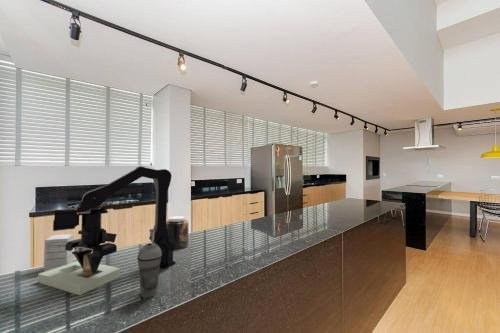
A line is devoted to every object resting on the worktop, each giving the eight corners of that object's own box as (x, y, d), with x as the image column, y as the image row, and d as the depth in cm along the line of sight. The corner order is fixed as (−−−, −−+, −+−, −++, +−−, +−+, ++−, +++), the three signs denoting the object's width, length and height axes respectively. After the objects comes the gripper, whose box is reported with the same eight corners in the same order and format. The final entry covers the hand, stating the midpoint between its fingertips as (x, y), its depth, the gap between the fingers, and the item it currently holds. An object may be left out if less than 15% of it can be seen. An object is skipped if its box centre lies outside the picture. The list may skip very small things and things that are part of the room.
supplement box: (51, 266, 93) (52, 235, 93) (73, 263, 96) (74, 233, 96) (42, 273, 86) (44, 239, 86) (66, 270, 89) (67, 237, 89)
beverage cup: (141, 288, 75) (142, 227, 76) (164, 287, 76) (165, 227, 77) (132, 300, 68) (133, 232, 69) (157, 299, 69) (158, 232, 70)
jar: (165, 251, 112) (165, 220, 113) (163, 244, 123) (164, 216, 124) (189, 248, 117) (190, 218, 118) (186, 241, 128) (186, 214, 128)
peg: (99, 276, 81) (100, 253, 81) (87, 281, 77) (88, 257, 77) (91, 274, 82) (92, 252, 82) (79, 279, 78) (80, 255, 79)
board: (120, 276, 84) (120, 268, 84) (79, 295, 71) (79, 285, 71) (80, 267, 92) (81, 259, 92) (38, 282, 79) (38, 273, 79)
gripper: (130, 224, 84) (129, 267, 84) (96, 220, 91) (95, 260, 91) (101, 231, 74) (99, 280, 73) (65, 226, 81) (63, 271, 80)
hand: (90, 271), depth 80 cm, fingers closed on peg, 4 cm apart
